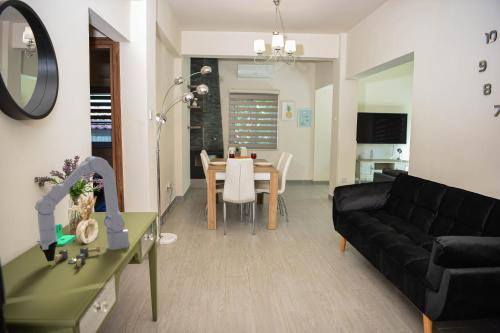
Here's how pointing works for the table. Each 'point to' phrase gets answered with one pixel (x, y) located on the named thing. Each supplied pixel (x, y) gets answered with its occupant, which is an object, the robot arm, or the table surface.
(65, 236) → the camera mount
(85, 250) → the knob
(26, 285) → the table surface
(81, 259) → the knob
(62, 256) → the knob
